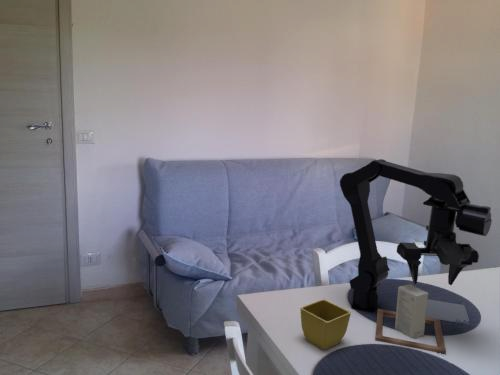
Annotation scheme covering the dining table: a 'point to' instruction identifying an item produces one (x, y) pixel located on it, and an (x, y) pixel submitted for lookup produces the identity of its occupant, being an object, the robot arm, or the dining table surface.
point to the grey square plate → (446, 311)
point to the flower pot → (324, 323)
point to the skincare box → (411, 311)
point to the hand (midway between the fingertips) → (432, 284)
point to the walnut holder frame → (439, 339)
